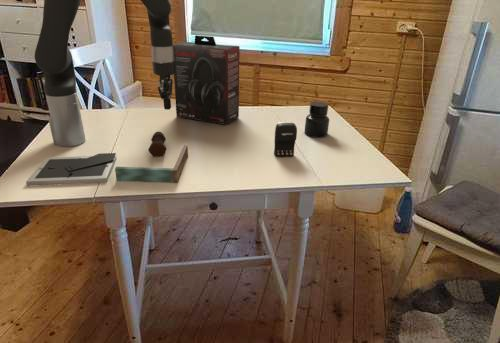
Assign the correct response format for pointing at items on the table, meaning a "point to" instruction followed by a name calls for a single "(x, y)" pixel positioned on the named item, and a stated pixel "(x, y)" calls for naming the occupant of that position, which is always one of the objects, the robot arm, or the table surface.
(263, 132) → the table surface
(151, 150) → the bolt
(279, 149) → the battery charger
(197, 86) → the headset box
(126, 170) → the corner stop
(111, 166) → the picture frame
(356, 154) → the table surface
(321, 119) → the ink bottle
